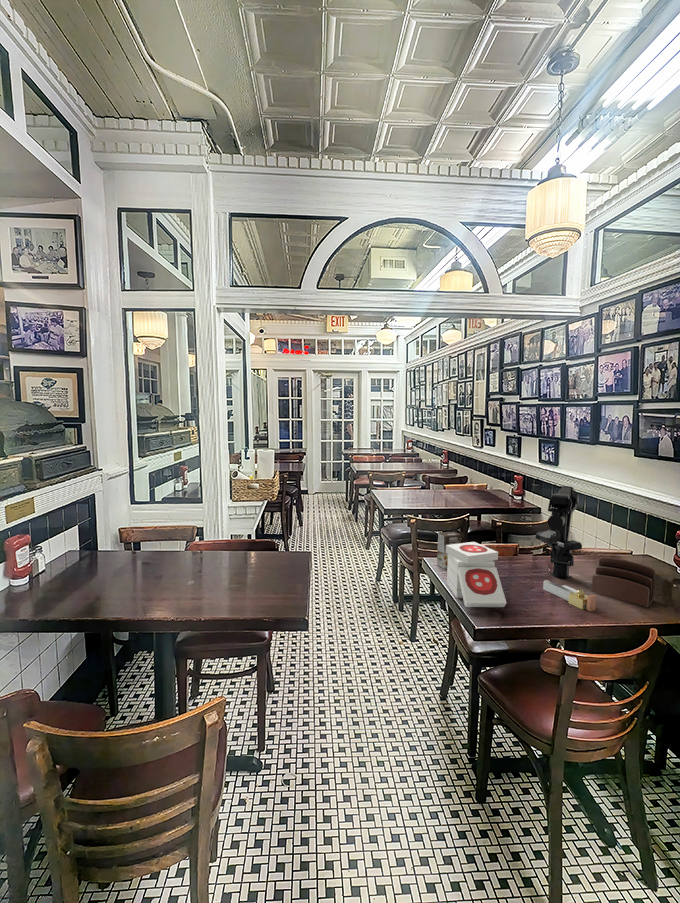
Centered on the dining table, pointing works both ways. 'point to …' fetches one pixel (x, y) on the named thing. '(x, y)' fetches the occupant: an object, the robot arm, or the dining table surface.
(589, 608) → the flange rail
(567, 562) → the robot arm
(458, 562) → the pizza boxes
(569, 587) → the pad
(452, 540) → the coffee box
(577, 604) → the clip saddle
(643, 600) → the letter holder
